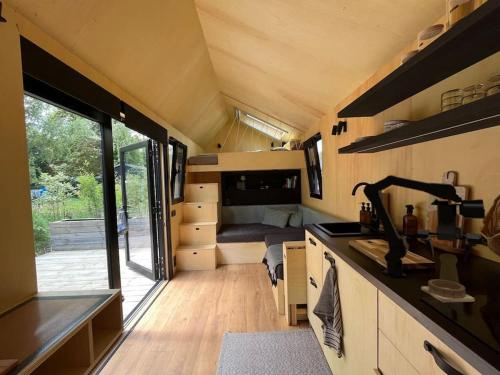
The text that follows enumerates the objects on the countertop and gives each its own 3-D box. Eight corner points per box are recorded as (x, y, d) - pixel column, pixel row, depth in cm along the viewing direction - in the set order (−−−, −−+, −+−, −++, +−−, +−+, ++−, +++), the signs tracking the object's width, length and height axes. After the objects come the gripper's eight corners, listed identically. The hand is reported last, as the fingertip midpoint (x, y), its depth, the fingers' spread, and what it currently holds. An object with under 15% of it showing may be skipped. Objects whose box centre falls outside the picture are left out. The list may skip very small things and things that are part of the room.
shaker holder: (421, 289, 89) (421, 279, 89) (449, 288, 89) (449, 278, 89) (442, 302, 79) (442, 291, 79) (474, 301, 79) (474, 290, 79)
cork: (434, 281, 96) (433, 252, 96) (449, 280, 96) (448, 251, 96) (448, 287, 90) (447, 257, 90) (464, 286, 90) (463, 256, 90)
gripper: (413, 218, 93) (414, 260, 93) (481, 222, 81) (482, 270, 81) (418, 215, 101) (419, 253, 102) (481, 218, 89) (481, 261, 89)
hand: (447, 259), depth 93 cm, fingers open, 9 cm apart
